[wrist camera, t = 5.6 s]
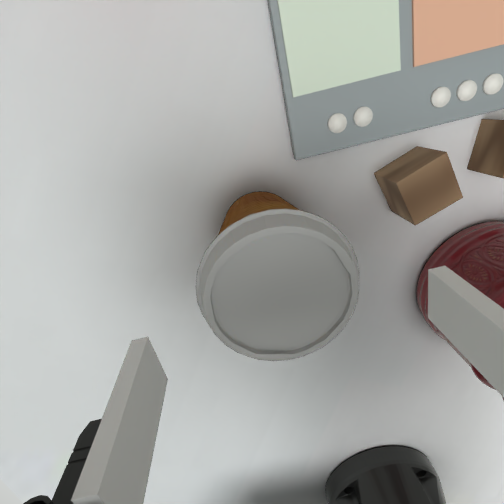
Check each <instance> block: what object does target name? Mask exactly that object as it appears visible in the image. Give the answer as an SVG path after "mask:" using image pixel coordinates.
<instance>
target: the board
mask: <svg viewBox="0 0 504 504" xmlns="http://www.w3.org/2000/svg"><path fill="white" fill-rule="evenodd" d="M268 6H269V12H270V18H271V24H272V30H273V36H274V41H275V47H276V53H277V59H278V65H279V71H280V77H281V83H282V89H283V95H284V100H285V106H286V112H287V118H288V124H289V130H290V136H291V142H292V148H293V153H294V159H295V160H300V159H304V158H308V157H312V156H316V155H320V154H324V153H328V152H332V151H336V150H340V149H344V148H348V147H352V146H356V145H360V144H364V143H368V142H372V141H376V140H380V139H384V138H388V137H392V136H396V135H400V134H404V133H408V132H412V131H416V130H420V129H424V128H428V127H432V126H436V125H440V124H444V123H448V122H452V121H456V120H460V119H464V118H468V117H472V116H476V115H480V114H485V113H489V112H493V111H497V110H501V109H504V0H268Z"/></svg>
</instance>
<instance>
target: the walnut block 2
mask: <svg viewBox="0 0 504 504" xmlns="http://www.w3.org/2000/svg"><path fill="white" fill-rule="evenodd" d="M467 169H469V170H473V171H476V172H480V173H484V174H488V175H492V176H496V177H500V178H504V120H492V119H482V120H481V124H480V127H479V130H478V134H477V137H476V140H475V144H474V147H473V151H472V154H471V157H470V161H469V164H468V167H467Z"/></svg>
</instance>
